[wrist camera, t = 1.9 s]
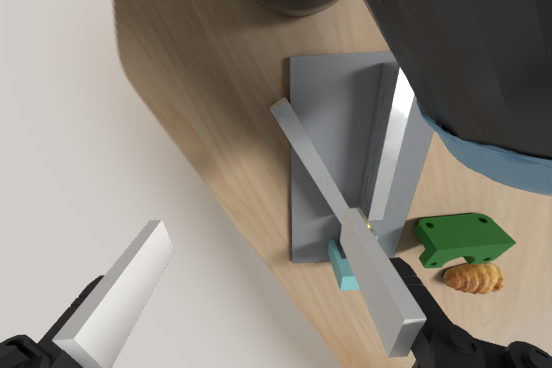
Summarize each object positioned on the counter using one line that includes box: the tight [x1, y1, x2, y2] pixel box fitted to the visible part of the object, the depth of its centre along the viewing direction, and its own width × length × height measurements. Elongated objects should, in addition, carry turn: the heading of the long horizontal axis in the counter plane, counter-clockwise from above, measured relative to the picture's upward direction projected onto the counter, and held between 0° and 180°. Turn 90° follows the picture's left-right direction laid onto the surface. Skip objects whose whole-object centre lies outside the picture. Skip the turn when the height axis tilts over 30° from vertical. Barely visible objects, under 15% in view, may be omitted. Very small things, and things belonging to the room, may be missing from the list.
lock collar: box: [328, 239, 360, 291], centre depth 32 cm, size 3×8×7 cm, turn 92°
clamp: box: [415, 213, 516, 268], centre depth 33 cm, size 12×6×9 cm, turn 89°
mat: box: [290, 51, 434, 263], centre depth 30 cm, size 32×18×1 cm, turn 3°
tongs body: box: [337, 61, 414, 259], centre depth 28 cm, size 31×4×4 cm, turn 3°
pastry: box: [443, 262, 504, 294], centre depth 39 cm, size 9×7×4 cm
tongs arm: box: [270, 97, 349, 225], centre depth 26 cm, size 19×2×4 cm, turn 33°
